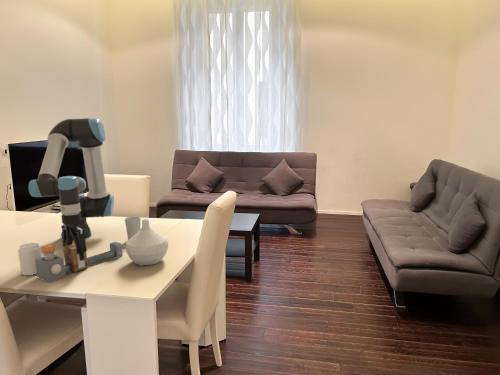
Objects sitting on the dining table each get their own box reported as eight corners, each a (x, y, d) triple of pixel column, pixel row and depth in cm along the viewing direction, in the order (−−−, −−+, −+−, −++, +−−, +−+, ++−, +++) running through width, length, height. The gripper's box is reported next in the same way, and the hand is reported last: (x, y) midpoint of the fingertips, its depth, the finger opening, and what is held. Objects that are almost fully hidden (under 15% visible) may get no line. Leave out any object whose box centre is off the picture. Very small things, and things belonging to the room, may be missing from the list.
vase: (147, 272, 171) (144, 227, 167) (117, 264, 180) (114, 222, 177) (177, 258, 186) (175, 217, 183) (148, 252, 196) (145, 213, 192)
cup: (137, 243, 211) (136, 220, 209) (123, 242, 213) (121, 220, 211) (144, 238, 219) (143, 216, 217) (130, 238, 220) (129, 216, 218)
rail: (56, 273, 172) (55, 259, 171) (116, 254, 195) (115, 241, 194) (63, 275, 169) (61, 261, 168) (122, 255, 192) (121, 243, 191)
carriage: (65, 268, 176) (63, 246, 175) (78, 264, 181) (76, 242, 179) (74, 272, 172) (72, 249, 170) (87, 267, 177) (85, 245, 175)
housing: (37, 277, 168) (35, 259, 166) (54, 272, 173) (52, 254, 172) (49, 282, 162) (46, 263, 161) (66, 277, 168) (64, 258, 166)
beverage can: (26, 269, 177) (23, 243, 175) (46, 268, 178) (43, 242, 176) (17, 277, 169) (14, 249, 167) (38, 276, 170) (34, 248, 168)
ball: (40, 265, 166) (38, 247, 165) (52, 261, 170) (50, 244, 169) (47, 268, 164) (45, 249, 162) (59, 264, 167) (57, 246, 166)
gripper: (49, 212, 175) (55, 263, 179) (75, 218, 163) (81, 273, 167) (66, 208, 181) (71, 258, 185) (92, 214, 169) (97, 267, 173)
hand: (76, 265), depth 176 cm, fingers closed on carriage, 7 cm apart
